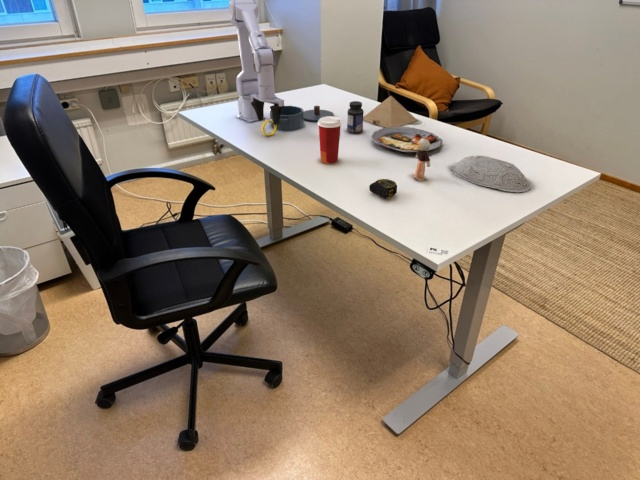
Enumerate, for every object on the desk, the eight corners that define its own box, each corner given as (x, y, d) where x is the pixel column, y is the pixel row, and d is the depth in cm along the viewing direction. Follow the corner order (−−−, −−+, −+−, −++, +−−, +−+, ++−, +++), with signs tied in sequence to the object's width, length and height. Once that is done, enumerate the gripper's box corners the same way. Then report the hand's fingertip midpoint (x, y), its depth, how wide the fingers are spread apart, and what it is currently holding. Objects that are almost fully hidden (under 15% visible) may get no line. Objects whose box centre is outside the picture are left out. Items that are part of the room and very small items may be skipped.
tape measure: (367, 193, 129) (368, 181, 127) (385, 187, 132) (386, 176, 130) (383, 202, 125) (384, 190, 123) (401, 196, 128) (402, 184, 126)
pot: (267, 133, 171) (266, 117, 168) (274, 118, 187) (273, 103, 184) (301, 133, 171) (301, 118, 168) (305, 118, 186) (304, 104, 183)
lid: (298, 122, 182) (298, 111, 180) (301, 111, 194) (301, 101, 192) (333, 122, 182) (333, 111, 179) (333, 112, 194) (334, 101, 191)
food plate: (453, 144, 162) (454, 134, 160) (418, 163, 148) (419, 153, 146) (396, 128, 176) (397, 119, 174) (359, 144, 162) (359, 134, 160)
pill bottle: (362, 129, 175) (364, 100, 169) (362, 134, 170) (364, 105, 164) (347, 128, 176) (348, 100, 170) (346, 133, 171) (347, 105, 165)
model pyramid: (359, 119, 185) (360, 95, 179) (386, 111, 194) (388, 87, 189) (390, 130, 174) (392, 104, 169) (417, 120, 184) (420, 95, 179)
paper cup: (343, 157, 151) (344, 117, 144) (336, 166, 145) (337, 124, 138) (321, 155, 153) (321, 114, 146) (314, 163, 147) (313, 121, 140)
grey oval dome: (517, 196, 126) (523, 173, 123) (440, 174, 142) (444, 153, 139) (539, 185, 136) (545, 163, 133) (465, 165, 152) (469, 145, 149)
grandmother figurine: (406, 175, 140) (411, 136, 133) (416, 172, 141) (421, 134, 134) (422, 184, 134) (428, 144, 127) (432, 182, 136) (438, 142, 129)
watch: (264, 137, 167) (263, 122, 164) (260, 135, 169) (259, 120, 166) (278, 134, 170) (277, 119, 167) (274, 132, 172) (273, 117, 169)
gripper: (288, 85, 159) (290, 122, 166) (258, 79, 166) (261, 115, 173) (276, 89, 154) (278, 128, 161) (245, 83, 161) (248, 120, 168)
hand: (268, 122), depth 167 cm, fingers open, 7 cm apart
